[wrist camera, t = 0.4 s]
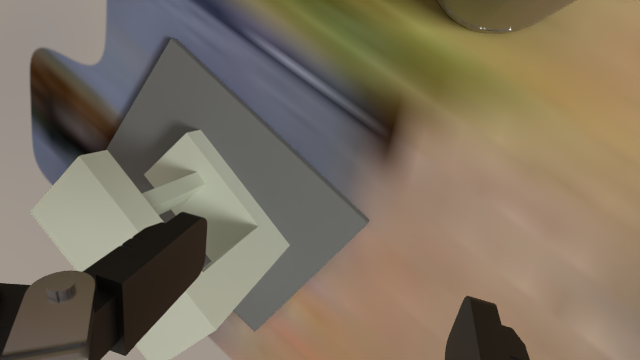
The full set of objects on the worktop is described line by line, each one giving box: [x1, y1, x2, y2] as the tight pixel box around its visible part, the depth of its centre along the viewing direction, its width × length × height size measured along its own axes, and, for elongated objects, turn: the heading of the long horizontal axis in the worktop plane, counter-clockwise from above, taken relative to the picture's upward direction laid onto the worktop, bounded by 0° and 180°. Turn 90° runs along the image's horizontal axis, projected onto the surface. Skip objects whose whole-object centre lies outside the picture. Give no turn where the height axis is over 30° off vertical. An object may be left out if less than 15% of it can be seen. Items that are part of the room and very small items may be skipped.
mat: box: [106, 39, 369, 331], centre depth 34 cm, size 22×16×1 cm
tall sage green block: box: [30, 130, 290, 360], centre depth 28 cm, size 12×6×12 cm, turn 39°
